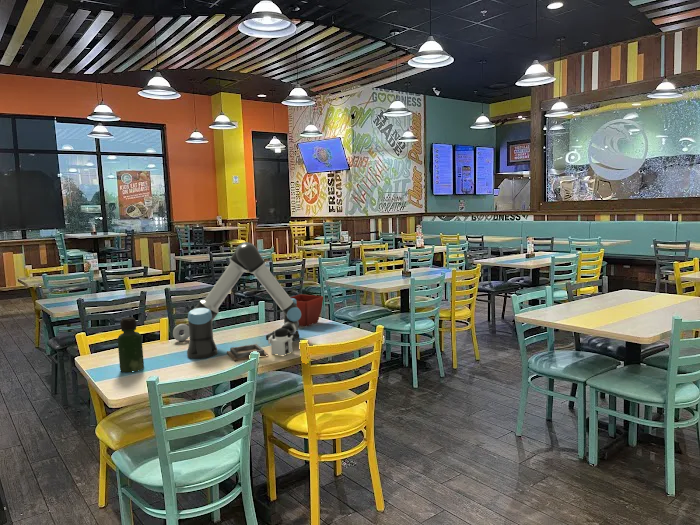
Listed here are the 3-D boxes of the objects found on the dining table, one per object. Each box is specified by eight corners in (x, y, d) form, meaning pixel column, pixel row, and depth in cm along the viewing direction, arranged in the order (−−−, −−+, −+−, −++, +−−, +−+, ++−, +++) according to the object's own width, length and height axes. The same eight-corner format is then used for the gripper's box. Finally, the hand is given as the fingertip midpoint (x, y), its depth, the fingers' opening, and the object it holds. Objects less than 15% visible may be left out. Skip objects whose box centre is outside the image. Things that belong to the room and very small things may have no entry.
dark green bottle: (148, 368, 242) (143, 317, 240) (126, 374, 235) (121, 321, 232) (137, 364, 249) (133, 314, 247) (116, 370, 242) (111, 318, 239)
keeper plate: (234, 361, 249) (234, 355, 249) (226, 353, 264) (226, 347, 264) (268, 356, 257) (267, 350, 256) (258, 348, 272) (258, 342, 271)
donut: (174, 343, 288) (173, 326, 287) (172, 342, 291) (171, 324, 290) (192, 340, 294) (190, 323, 293) (190, 338, 297) (188, 322, 295)
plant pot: (307, 328, 312) (306, 301, 310) (283, 325, 322) (281, 299, 320) (325, 321, 328) (324, 296, 326) (301, 319, 338) (300, 294, 336)
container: (292, 352, 262) (291, 327, 260) (283, 356, 255) (282, 331, 254) (280, 350, 266) (279, 326, 264) (271, 354, 259) (270, 329, 258)
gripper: (308, 336, 277) (302, 348, 255) (267, 337, 278) (257, 349, 256) (308, 323, 276) (301, 333, 254) (266, 324, 278) (257, 334, 256)
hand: (279, 341), depth 255 cm, fingers closed on container, 10 cm apart
